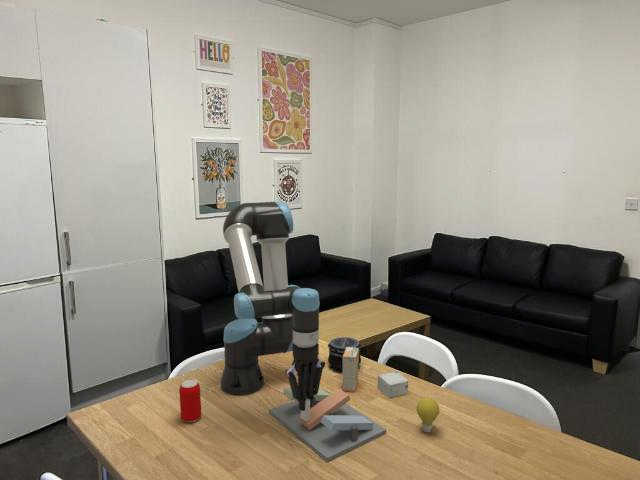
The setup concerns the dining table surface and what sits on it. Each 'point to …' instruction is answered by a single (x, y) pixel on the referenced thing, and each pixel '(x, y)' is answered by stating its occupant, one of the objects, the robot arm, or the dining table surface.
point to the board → (326, 430)
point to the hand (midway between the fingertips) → (305, 418)
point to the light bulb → (427, 412)
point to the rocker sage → (319, 396)
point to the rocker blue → (346, 422)
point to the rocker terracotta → (326, 408)
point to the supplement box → (350, 369)
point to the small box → (392, 384)
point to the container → (341, 352)
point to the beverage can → (190, 401)
